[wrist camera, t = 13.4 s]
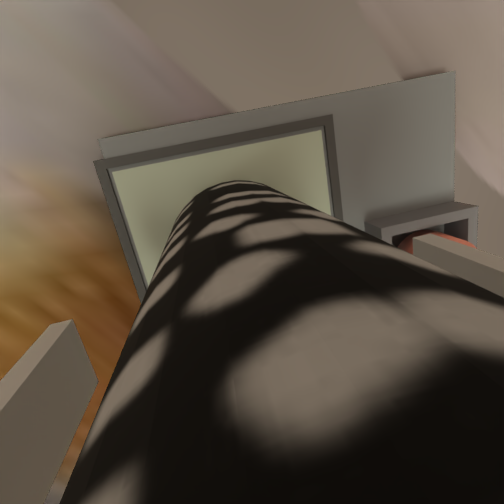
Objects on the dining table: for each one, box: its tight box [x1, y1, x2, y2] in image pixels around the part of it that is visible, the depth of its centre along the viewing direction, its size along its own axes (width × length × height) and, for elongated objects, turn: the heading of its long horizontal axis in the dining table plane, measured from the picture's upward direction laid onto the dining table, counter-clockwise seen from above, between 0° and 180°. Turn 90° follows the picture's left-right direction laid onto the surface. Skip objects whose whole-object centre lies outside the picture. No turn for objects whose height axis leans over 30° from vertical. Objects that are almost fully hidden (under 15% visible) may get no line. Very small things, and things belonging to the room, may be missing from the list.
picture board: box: [93, 71, 478, 304], centre depth 19 cm, size 20×15×3 cm
